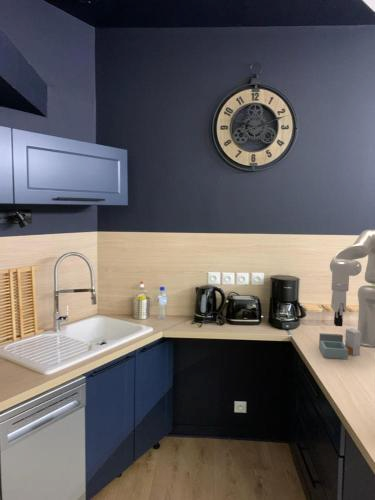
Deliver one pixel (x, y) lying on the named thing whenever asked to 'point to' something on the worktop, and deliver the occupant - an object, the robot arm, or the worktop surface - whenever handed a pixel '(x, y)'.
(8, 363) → the worktop surface
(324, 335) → the backstop wall
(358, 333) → the skincare box
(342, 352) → the holder
